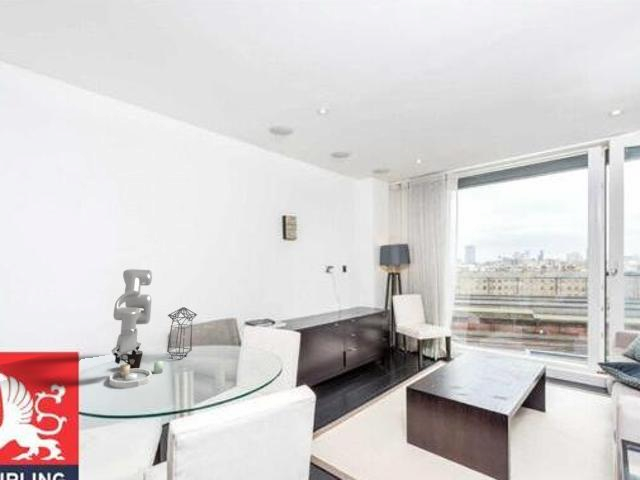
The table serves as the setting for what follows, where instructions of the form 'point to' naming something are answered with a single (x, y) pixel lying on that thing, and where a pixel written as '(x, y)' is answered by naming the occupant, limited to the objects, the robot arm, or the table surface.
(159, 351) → the table surface
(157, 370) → the sage bead
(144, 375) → the groove tray
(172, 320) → the geometric lantern
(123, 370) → the birch bead
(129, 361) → the coffee mug
